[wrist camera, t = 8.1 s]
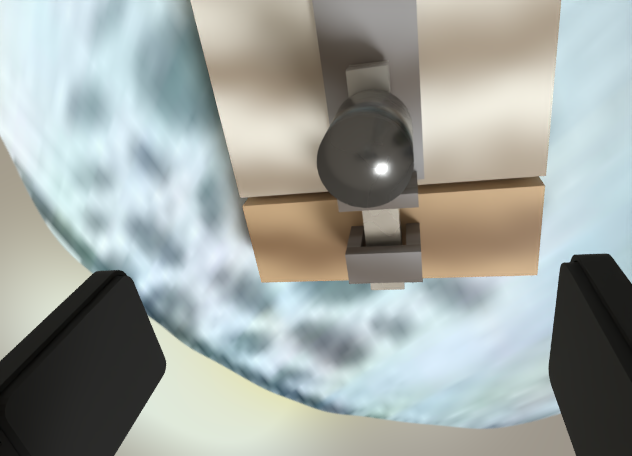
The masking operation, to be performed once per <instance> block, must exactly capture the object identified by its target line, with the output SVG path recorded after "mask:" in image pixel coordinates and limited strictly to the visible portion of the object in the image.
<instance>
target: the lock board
mask: <svg viewBox="0 0 632 456" xmlns="http://www.w3.org/2000/svg"><path fill="white" fill-rule="evenodd" d="M190 1H191V5H192V9H193V13H194V17H195V21H196V25H197V29H198V33H199V37H200V40H201V44H202V48H203V52H204V56H205V60H206V64H207V68H208V72H209V76H210V80H211V84H212V88H213V92H214V96H215V100H216V104H217V108H218V112H219V116H220V120H221V124H222V128H223V132H224V136H225V139H226V143H227V147H228V151H229V155H230V159H231V163H232V167H233V171H234V175H235V179H236V183H237V187H238V191H239V195H240V198H244V197H249V198H248V199H247V201H246V202H245V203H244V205H243V206H242V207H243V211H244V215H245V219H246V223H247V227H248V231H249V234H250V238H251V242H252V246H253V250H254V254H255V258H256V262H257V266H258V270H259V274H260V278H261V282H297V281H334V280H349V284H360V283H401V282H423V278H447V277H485V276H523V275H537V271H538V260H539V248H540V237H541V226H542V214H543V203H544V191H545V185H544V184H543V182H542V181H541V179H540V178H539V176H546V168H547V157H548V146H549V134H550V123H551V111H552V100H553V88H554V77H555V66H556V54H557V43H558V31H559V20H560V8H561V0H190ZM386 60H389V74H390V87H391V94H393V95H395V96H396V97H398V98H399V99H400V100H401V101H402V102H403V103H404V104H405V106H406V107H407V109H408V111H409V113H410V116H411V119H412V128H413V151H414V168H413V173H412V177H411V179H410V181H409V184H408V185H407V187H406V188H405V190H404V191H403V192H402V193H401V194H400V195H399V196H398V197H397V198H395V199H394V200H392V201H390V202H389V203H387V204H384V205H381V206H378V207H372V208H360V207H354V206H350V205H348V204H345V203H343V202H341V201H339V200H338V199H336V198H335V197H334V196H333V195H331V194H330V193H329V192H328V190H327V189H326V188H325V186H324V185H323V183H322V181H321V180H320V177H319V174H318V170H317V153H318V149H319V146H320V143H321V141H322V139H323V137H324V136H325V134H326V132H327V130H328V128H329V126H330V124H331V122H332V120H333V118H334V117H335V115H336V113H337V111H338V109H339V107H340V106H341V105H342V103H343V102H344V101H345V100H346V99H347V98H349V96H348V87H347V79H346V70H347V68H348V67H349V65H356V64H364V63H371V62H378V61H386ZM399 208H400V220H401V234H402V245H393V246H370V247H366V240H365V231H364V223H363V214H362V211H367V210H383V209H399Z"/></svg>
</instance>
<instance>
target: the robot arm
mask: <svg viewBox="0 0 632 456" xmlns="http://www.w3.org/2000/svg"><path fill="white" fill-rule="evenodd" d="M165 369H166V360H165V357H164V354H163V352H162V350H161V347H160V345H159V343H158V340H157V338H156V335H155V333H154V330H153V328H152V325H151V323H150V321H149V318H148V316H147V313H146V311H145V308H144V306H143V304H142V301H141V299H140V296H139V294H138V292H137V289H136V287H135V284H134V282H133V280H132V279H131V278H130V277H129V276H127V275H126V274H125V273H124V272H123V271H120V270H111V271H97V272H95V273H93V274H92V275H91V276H90V277H89V278H88V279H87V280H86V281H85V282H84V283H83V284H82V285H81V286H79V287H78V289H76V290H75V291H74V292H73V293H72V294H71V295H70V296H69V297H68V298H67V299H66V300H65V301H64V302H62V303H61V304H60V305H59V306H58V307H57V308H56V309H55V310H54V311H53V312H52V313H51V314H50V315H49V316H48V317H47V318H45V319H44V320H43V321H42V322H41V323H40V324H39V325H38V326H37V327H36V328H35V329H34V330H33V331H32V332H31V333H30V334H28V336H26V337H25V338H24V339H23V340H22V341H21V342H20V343H19V344H18V345H17V346H16V347H15V348H14V349H13V350H12V351H10V353H8V354H7V355H6V356H5V357H4V358H3V359H2V360H1V361H0V456H114V455H115V453H116V452H117V450H118V448H119V447H120V445H121V444H122V442H123V440H124V439H125V437H126V435H127V434H128V432H129V431H130V429H131V427H132V425H133V424H134V422H135V421H136V419H137V417H138V416H139V414H140V413H141V411H142V409H143V408H144V406H145V404H146V403H147V401H148V399H149V398H150V396H151V395H152V393H153V391H154V390H155V388H156V386H157V385H158V383H159V382H160V380H161V378H162V376H163V375H164V373H165ZM549 377H550V382H551V386H552V389H553V391H554V394H555V397H556V400H557V403H558V405H559V408H560V411H561V414H562V417H563V420H564V422H565V425H566V428H567V431H568V434H569V436H570V439H571V442H572V445H573V448H574V451H575V453H576V456H632V284H631V282H630V281H629V280H628V278H627V277H626V275H625V274H624V273H623V271H622V270H621V269H620V267H619V266H618V265H617V263H616V262H615V261H614V259H613V258H612V257H611V256H610V255H609V254H582V255H574V256H572V259H571V262H569V263H562V264H561V267H560V273H559V282H558V290H557V299H556V307H555V316H554V324H553V333H552V342H551V350H550V359H549Z"/></svg>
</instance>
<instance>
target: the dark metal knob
mask: <svg viewBox="0 0 632 456" xmlns="http://www.w3.org/2000/svg"><path fill="white" fill-rule="evenodd" d="M346 79H347V87H348V96H349V98H347V99H346V100H345V101H344V102H343V103H342V105H341V106H340V107H339V109H338V111H337V113H336V115H335V117H334V118H333V120H332V122H331V124H330V126H329V128H328V130H327V132H326V134H325V136H324V137H323V139H322V141H321V143H320V146H319V149H318V153H317V170H318V174H319V177H320V180H321V181H322V183H323V185H324V186H325V188H326V189H327V190H328V192H329V193H330V194H331V195H333V196H334V197H335V198H336V199H338V200H339V201H341V202H343V203H345V204H348V205H350V206H354V207H360V208H372V207H378V206H381V205H384V204H387V203H389V202H390V201H392V200H394V199H395V198H397V197H398V196H399V195H400V194H401V193H402V192H403V191H404V190H405V188H406V187H407V185H408V184H409V181H410V179H411V177H412V173H413V168H414V151H413V128H412V119H411V116H410V113H409V111H408V109H407V107H406V106H405V104H404V103H403V102H402V101H401V100H400V99H399V98H398V97H396V96H395V95H393V94H391V87H390V74H389V60H386V61H378V62H371V63H364V64H356V65H349V67H348V68H347V70H346ZM362 214H363V223H364V231H365V240H366V247H370V246H393V245H402V234H401V220H400V208H399V209H383V210H367V211H362ZM404 284H405V282H401V283H371V290H394V289H404Z"/></svg>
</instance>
